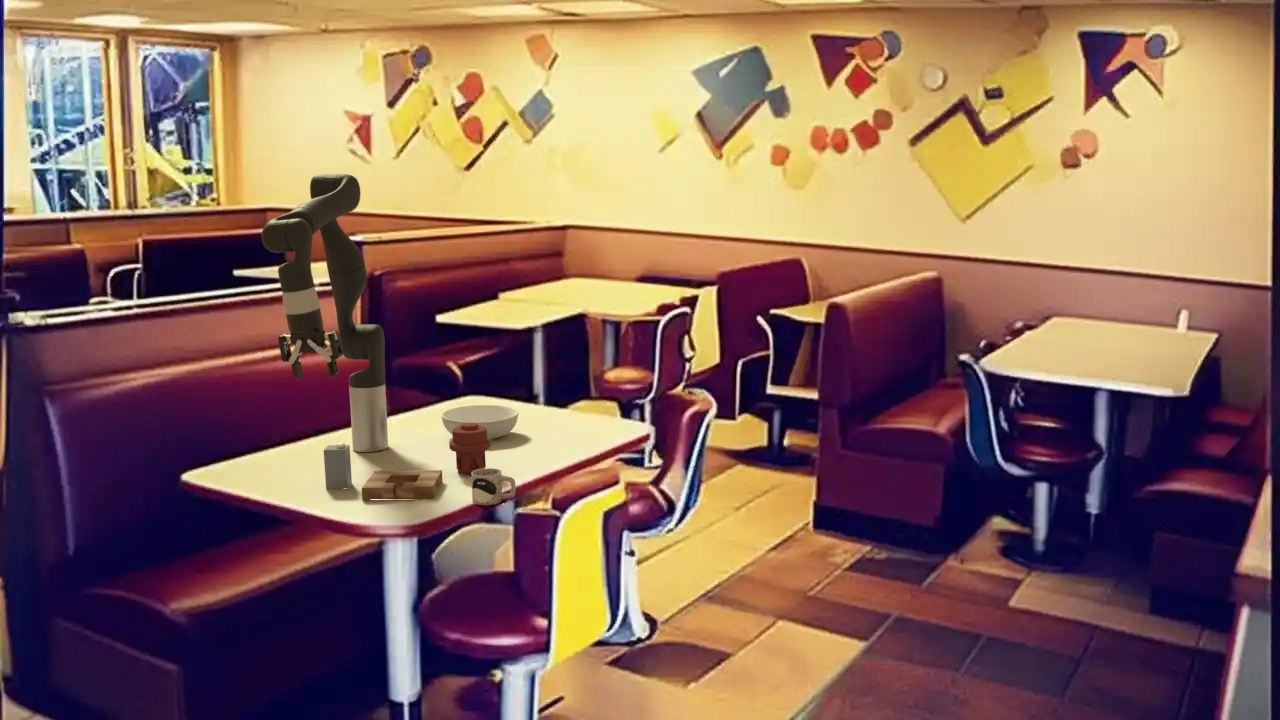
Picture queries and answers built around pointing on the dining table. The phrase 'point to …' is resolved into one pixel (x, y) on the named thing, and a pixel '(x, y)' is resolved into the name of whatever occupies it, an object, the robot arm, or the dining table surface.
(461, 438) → the mechanical component
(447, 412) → the serving bowl
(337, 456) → the block
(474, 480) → the mug
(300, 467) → the dining table surface
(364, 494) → the plate
